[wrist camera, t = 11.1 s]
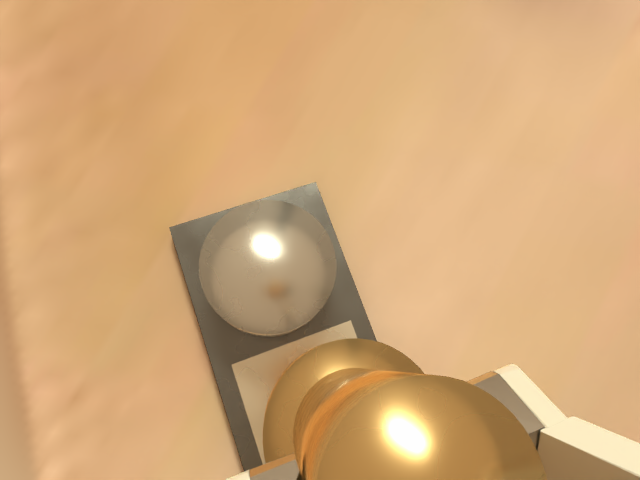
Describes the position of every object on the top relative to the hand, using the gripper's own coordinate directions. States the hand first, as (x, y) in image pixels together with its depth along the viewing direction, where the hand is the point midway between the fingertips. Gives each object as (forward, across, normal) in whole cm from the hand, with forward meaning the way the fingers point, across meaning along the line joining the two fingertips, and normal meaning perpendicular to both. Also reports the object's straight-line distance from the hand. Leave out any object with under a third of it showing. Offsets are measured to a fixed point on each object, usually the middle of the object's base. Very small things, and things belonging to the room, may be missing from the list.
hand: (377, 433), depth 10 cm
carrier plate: (+12, 0, +12) cm, 17 cm away
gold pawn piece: (+4, 0, +5) cm, 6 cm away
